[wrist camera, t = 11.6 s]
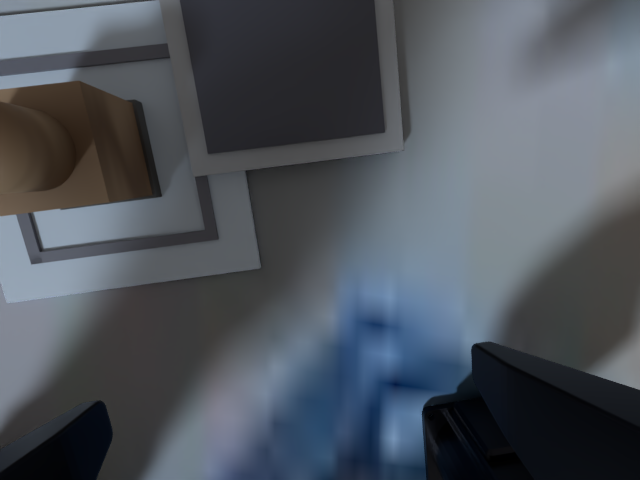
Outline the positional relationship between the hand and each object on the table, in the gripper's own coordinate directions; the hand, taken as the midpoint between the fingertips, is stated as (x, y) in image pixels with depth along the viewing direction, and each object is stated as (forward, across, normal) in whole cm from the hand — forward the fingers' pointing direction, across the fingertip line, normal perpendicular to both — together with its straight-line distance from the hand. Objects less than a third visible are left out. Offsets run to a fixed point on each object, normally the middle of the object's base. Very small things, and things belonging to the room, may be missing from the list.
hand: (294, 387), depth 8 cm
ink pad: (+12, -1, -11) cm, 16 cm away
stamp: (+12, +9, -7) cm, 16 cm away
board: (+12, +9, -7) cm, 17 cm away
